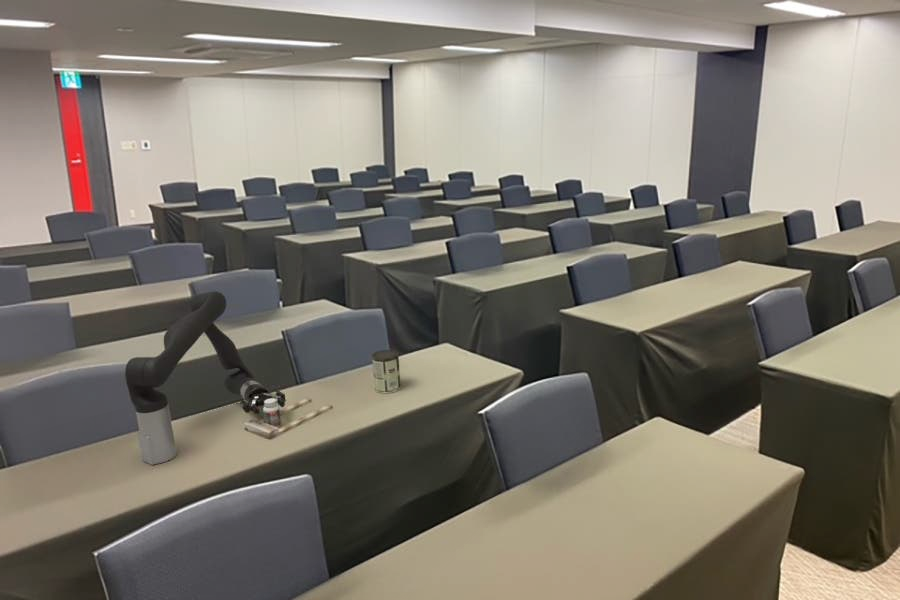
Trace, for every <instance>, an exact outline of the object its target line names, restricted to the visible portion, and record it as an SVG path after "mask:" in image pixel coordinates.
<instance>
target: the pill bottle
mask: <svg viewBox="0 0 900 600" xmlns="http://www.w3.org/2000/svg"><path fill="white" fill-rule="evenodd" d="M276 401H277V399H274V398H270V399H266V400H265V401H264V405H263V406H264V407H263V408H262V414H263V418H264V422H265V423H266V424H269V425H272V426H274V427H277V428H279V429H280V428H281V427H282V421H281V418H282V417H281V416H280V410H281V409H280V405H278V404H276V403H277V402H276Z"/></svg>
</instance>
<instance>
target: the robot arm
mask: <svg viewBox="0 0 900 600" xmlns="http://www.w3.org/2000/svg"><path fill="white" fill-rule="evenodd" d="M189 306H190V311H191V312H189V313H188V314H186V315H184V316H183V317H180V318H179V319H177V320H176V321H175V322H174V323H173V324H172V325H171V326H170V327H169V328H168V329H167V331H166V332H165V334H164V335H163V336H164V337H163V346H164V347H163V348H164V350H163V351H162V352H161V353H160V354H158V355H157V356H153V357H151V356H146V357H145V356H144V357H143V356H140V357H139V356H137V357H133V358H130V359H129V360H128V362H127V363H126V365H125V369H124V370H125V371H124V372H125V373H124V374H125V376H124V377H125V382H126V386H127V389H128V393H129V397H130V400H131V404H132V405H133V406H134V410H135V413H136V418H137V424H138V430H139V431H138V432H137V440H138V445H139V449H140V455H141V459H142V461H143V462H145V463H147V464H149V465H151V466H155V465H158V464H162V463H166V462H168V460H169V461H170V460H172V459H174V458H175V457H176V456H177V455H178V453H177V452H178V450H177V445H176V442H175V436H174V435H175V434H174V429H173V424H172V423H173V422H172V418H171V412H170V407H169V406H170V405H169V402H168V397H167V395H166V394H165V393H163V392H161V391H159V390H156V389H155V388H160V387H161V386H163V385H165V383H166V382H167V380H168V379H169V378H170V376H171V375H172V373H173V371H174V370H175V368H176V367H177V365H178V363H179V362H180V361H181V360H182V358H183V357H184V356H185V355H186V354H187V352H188V351H189V350H190V349H191V348H192V347H193V346H194V344H195V343H196V342H197V341H198V340H199V338H201V336H202V335H203V333H204V334H205V335H206V337H207V338H208V339H209V341H210V343H211V345H212V346H213V348H214V350H215V352H216V354H217V357H218V359H219V362H220V364H221V366H222V368H223V369H224V370H227V371H228V370H232V369H238V370H236V371H234V372H232V373H231V374H229V375H227V376H226V377H225V379H224V386H225V388H226V390H227V391H228V392H230V393H232V394H234V395H237V396H241V397H242V398H243V400H240V404H241V409H242V410H243V411H244V412H245V413H246V414H248V413H250V412H252V413H253V414H256V415H260V414H261V411H260V408H261V407H263V406H265V405H264V401H265V400H266V399H270V398H274V399H276V402H277V403H276V404H277V405H278V406H279V407H280V408H284V407H285V406H286V404H285V403H286V401H287V400H286V394H285V393H284V392H282V391H280V390H279V389H278V390H275V393H270V392H269V390H267V389H266V388H265V386H263V385H262V384H260V382H257V381H256V380H255V376H254V374H253V373H252V371H251V370H250V369H249V367H247V365H246V364H245V363H244V361H243V360H242V357H241V356H240V354H239V351H238V349H237V347H236V345H235V343H234V342H233V340H232V339H231V338H230V337H229V336H227V334H225V333H224V332H222V330H220V329H219V328H218V327H217V325H216V324H215V323H214V322H215V321H216V320H217V319H219V318H220V317H221V316H222V315H223V314H224V312H225V311H226V308H227V298H226V297H225V295H224V294H223V293H222V292H220V291H209V292H204V293H203V292H202V293H199V294H196V295H194V296H192V297H191V299H190V302H189ZM154 464H155V465H154Z"/></svg>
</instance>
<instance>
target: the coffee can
mask: <svg viewBox="0 0 900 600" xmlns="http://www.w3.org/2000/svg"><path fill="white" fill-rule="evenodd" d="M371 359H372V361H371V362H372V371H373V372H372V373H373V381H374V391H375V393H378V392H379V394H384V393H387V394H392V392H393V393H396V392H398V391H399V390H401V389H402V386H401V373H400V360H399V351H397V350H394V349H382V350H378V351H375V352H373V353H372V354H371ZM400 388H401V389H400Z"/></svg>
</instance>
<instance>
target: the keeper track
mask: <svg viewBox="0 0 900 600" xmlns="http://www.w3.org/2000/svg"><path fill="white" fill-rule="evenodd" d="M311 402H312V399H311V398H309V397H306V398H303V399H302V400H300V401H298V402H295V403H294V404H291V405H288V406H287V407H285V408H282V409H279V410H280V417H281V416H284V415H286V414H289V413H290V412H292V411H294V410H296V409H299V408H300V407H303V406H305V405H307V404H309V403H311ZM331 408H332V409H333V405H331V404H325V405H324V406H323V407H321V408H319V409H316V410H314V411H313V412H312V411H311V413H309V414H306V415H304V416H302V417H300V418H298V419H297V420H294V421H292V422H290V423H288V424H286V425H284V426H281V427H279V428H277V427H274V426H272V425H269V424H266V423H265V422H264V417H263V418H262V419H256V418H252V419H250V420H248V421H246V422H244V423H243V427H244V431H246V432H249V433H252V434H254V435H257V436H259V437H262V438H264V439H267V440H269V441H270V440H272V439H274V438H276V437H278V436H280V435H282V434H284V433H286V432H289V431H291V430H292V429H294V428H295V427H298V426H300V425H302V424H304V423H306V422H308V421H310V420H312V419H314V418H316V417H318V416H320V415H322V414H324V413H326V412H328V411H329V409H330V410H332V409H331ZM327 410H328V411H327ZM325 411H326V412H325ZM323 412H324V413H323ZM321 413H322V414H321ZM319 414H320V415H319ZM315 416H316V417H315ZM305 421H306V422H305ZM303 422H304V423H303ZM301 423H302V424H301ZM283 432H284V433H283ZM281 433H282V434H281ZM279 434H280V435H279ZM277 435H278V436H277Z"/></svg>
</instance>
